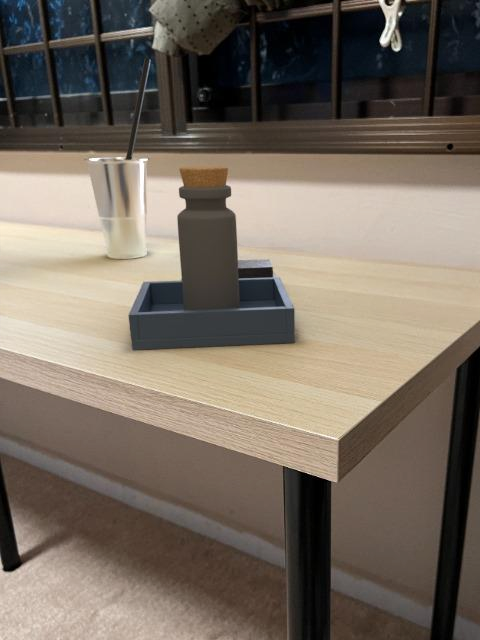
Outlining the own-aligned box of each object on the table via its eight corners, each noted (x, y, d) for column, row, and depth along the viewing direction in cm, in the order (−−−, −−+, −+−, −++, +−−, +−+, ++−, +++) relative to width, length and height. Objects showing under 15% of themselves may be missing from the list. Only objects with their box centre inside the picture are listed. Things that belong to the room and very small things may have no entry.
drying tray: (132, 350, 58) (128, 314, 57) (146, 311, 70) (143, 281, 69) (294, 342, 60) (294, 308, 58) (280, 306, 72) (280, 276, 71)
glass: (166, 248, 109) (150, 58, 97) (158, 260, 98) (139, 49, 87) (105, 249, 108) (81, 58, 96) (90, 261, 98) (61, 49, 86)
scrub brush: (181, 298, 76) (179, 270, 74) (183, 287, 81) (181, 261, 80) (277, 295, 77) (277, 267, 75) (273, 284, 82) (272, 258, 81)
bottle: (222, 306, 68) (214, 164, 63) (250, 318, 64) (245, 167, 58) (175, 315, 65) (162, 167, 59) (201, 328, 61) (191, 169, 55)
